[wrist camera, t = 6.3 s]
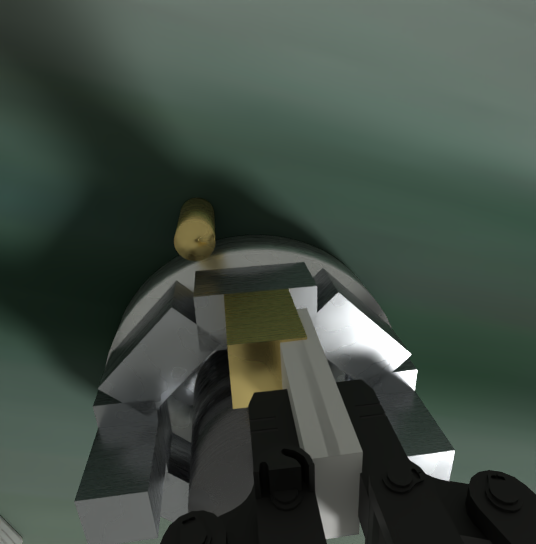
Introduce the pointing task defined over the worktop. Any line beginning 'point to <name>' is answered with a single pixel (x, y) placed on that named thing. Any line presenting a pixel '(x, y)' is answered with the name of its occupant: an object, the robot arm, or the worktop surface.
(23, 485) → the worktop surface
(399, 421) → the ring nut
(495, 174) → the worktop surface
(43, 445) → the worktop surface
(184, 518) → the robot arm
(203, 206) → the post
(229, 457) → the housing
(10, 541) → the skincare box
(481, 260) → the worktop surface
